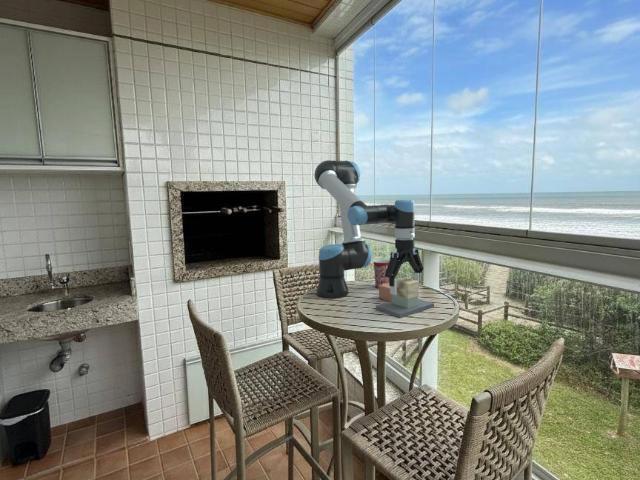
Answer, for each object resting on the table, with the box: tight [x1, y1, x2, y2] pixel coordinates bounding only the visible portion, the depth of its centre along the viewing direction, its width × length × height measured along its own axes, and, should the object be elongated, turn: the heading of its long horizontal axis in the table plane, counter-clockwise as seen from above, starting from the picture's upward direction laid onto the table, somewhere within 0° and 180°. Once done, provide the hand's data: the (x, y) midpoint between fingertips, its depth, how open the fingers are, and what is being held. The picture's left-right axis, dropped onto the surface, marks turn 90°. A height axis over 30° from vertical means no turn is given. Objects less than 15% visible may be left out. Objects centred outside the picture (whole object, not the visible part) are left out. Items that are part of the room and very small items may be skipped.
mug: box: [372, 258, 399, 289], centre depth 167 cm, size 13×9×14 cm
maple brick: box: [393, 277, 419, 299], centre depth 134 cm, size 8×6×6 cm
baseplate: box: [375, 294, 435, 319], centre depth 135 cm, size 13×20×6 cm, turn 125°
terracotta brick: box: [378, 283, 392, 302], centre depth 148 cm, size 8×6×6 cm
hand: (404, 291), depth 134 cm, fingers open, 13 cm apart
